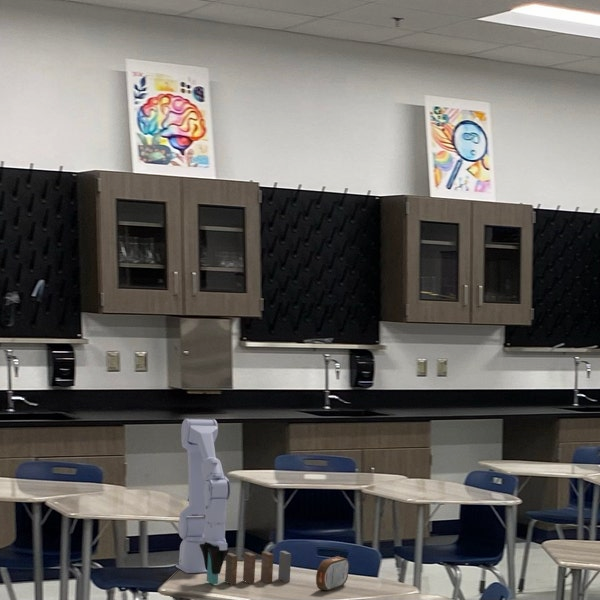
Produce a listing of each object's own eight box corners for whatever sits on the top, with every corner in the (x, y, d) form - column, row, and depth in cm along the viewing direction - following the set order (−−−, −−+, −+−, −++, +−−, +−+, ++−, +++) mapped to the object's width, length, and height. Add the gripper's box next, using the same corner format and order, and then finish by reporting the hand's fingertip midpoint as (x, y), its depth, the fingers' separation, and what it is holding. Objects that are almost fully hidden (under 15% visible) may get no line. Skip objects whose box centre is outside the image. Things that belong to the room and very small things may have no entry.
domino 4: (284, 582, 330) (286, 554, 331) (278, 578, 334) (279, 551, 335) (289, 582, 331) (291, 553, 331) (283, 578, 335) (284, 550, 335)
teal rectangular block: (211, 580, 326) (213, 551, 326) (217, 583, 322) (219, 554, 322) (206, 580, 325) (208, 551, 325) (212, 584, 321) (213, 555, 321)
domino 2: (248, 584, 326) (250, 555, 326) (242, 580, 330) (244, 552, 330) (254, 583, 326) (255, 555, 327) (248, 580, 330) (249, 552, 331)
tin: (340, 583, 333) (341, 553, 334) (350, 584, 332) (351, 555, 332) (314, 592, 320) (315, 561, 321) (324, 593, 319) (325, 562, 319)
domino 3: (266, 583, 328) (268, 554, 328) (260, 579, 332) (262, 551, 332) (272, 582, 329) (273, 554, 329) (265, 579, 333) (267, 551, 333)
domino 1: (230, 585, 323) (232, 556, 324) (224, 581, 327) (226, 553, 328) (236, 584, 324) (237, 556, 324) (230, 581, 328) (231, 552, 328)
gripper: (192, 518, 329) (190, 566, 328) (211, 527, 316) (208, 577, 315) (216, 517, 332) (213, 565, 331) (235, 526, 319) (232, 576, 318)
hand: (212, 571), depth 323 cm, fingers closed on teal rectangular block, 4 cm apart
